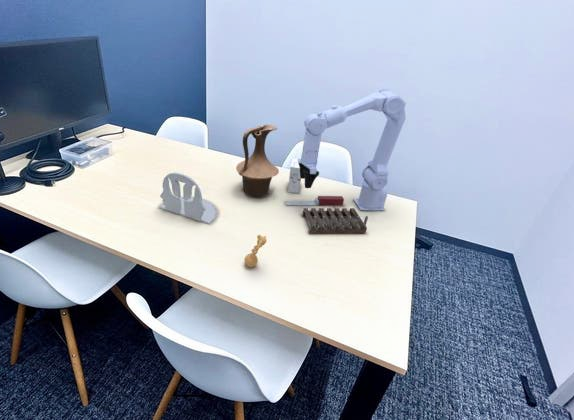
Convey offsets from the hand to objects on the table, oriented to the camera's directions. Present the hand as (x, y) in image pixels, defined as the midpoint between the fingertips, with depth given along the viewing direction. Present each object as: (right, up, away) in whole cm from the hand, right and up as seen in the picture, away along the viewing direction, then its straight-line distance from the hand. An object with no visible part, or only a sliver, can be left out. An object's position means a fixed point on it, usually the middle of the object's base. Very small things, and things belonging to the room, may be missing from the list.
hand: (305, 182), depth 126 cm
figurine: (-20, -27, -26) cm, 43 cm away
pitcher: (-19, -3, +13) cm, 23 cm away
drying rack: (+9, -15, -5) cm, 19 cm away
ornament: (-43, -10, 0) cm, 44 cm away
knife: (+5, -8, +7) cm, 11 cm away
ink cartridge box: (-2, -1, +17) cm, 17 cm away
